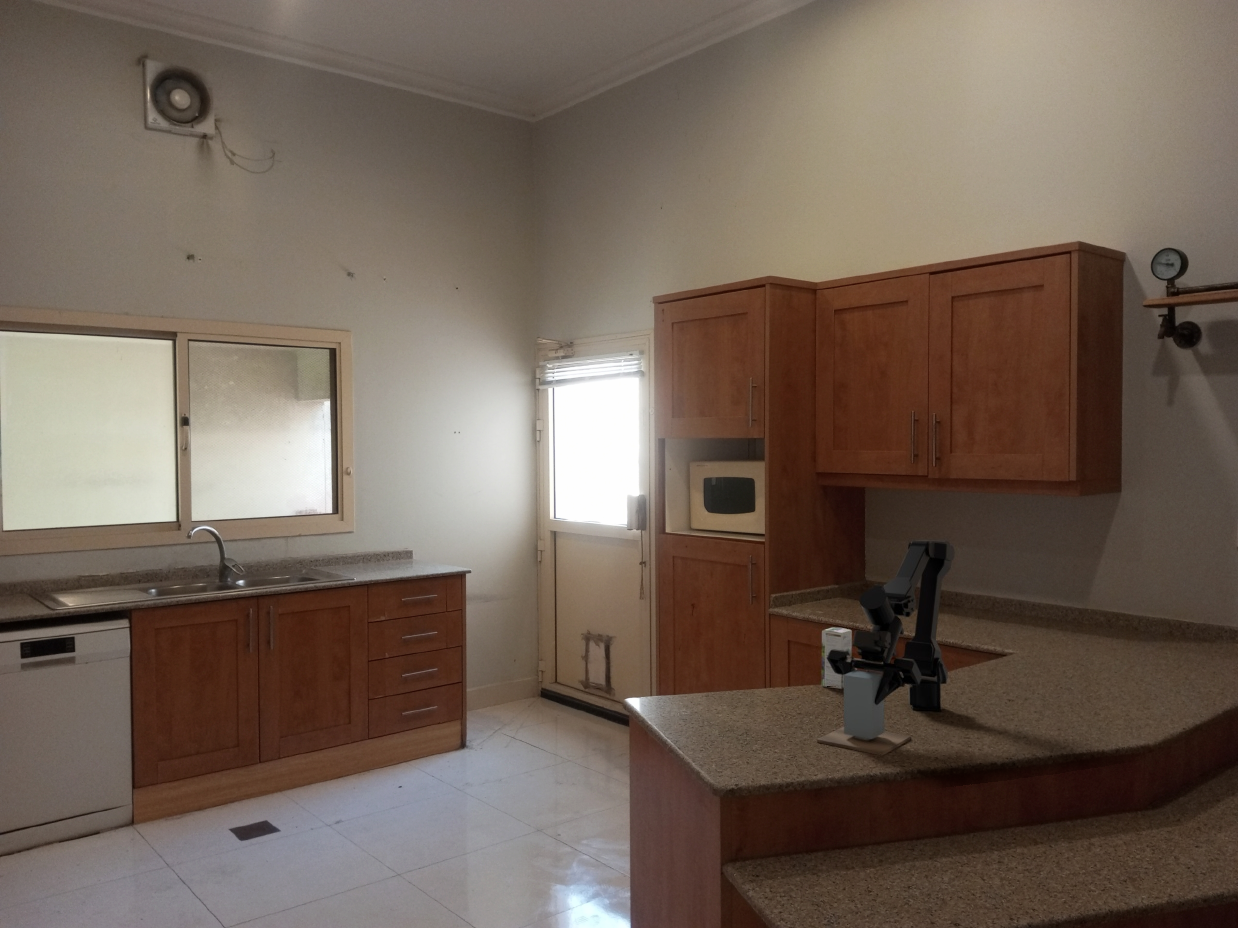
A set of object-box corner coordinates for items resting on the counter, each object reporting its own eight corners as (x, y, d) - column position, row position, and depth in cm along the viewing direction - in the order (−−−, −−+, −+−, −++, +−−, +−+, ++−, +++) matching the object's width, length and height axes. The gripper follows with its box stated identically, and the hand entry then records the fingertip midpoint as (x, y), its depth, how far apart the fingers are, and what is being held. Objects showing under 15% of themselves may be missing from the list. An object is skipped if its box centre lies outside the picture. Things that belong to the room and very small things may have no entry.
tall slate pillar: (857, 727, 193) (856, 669, 193) (884, 732, 189) (883, 673, 189) (844, 733, 188) (843, 674, 188) (871, 739, 184) (871, 678, 184)
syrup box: (831, 682, 241) (830, 626, 241) (852, 685, 237) (852, 628, 237) (821, 686, 236) (820, 629, 236) (842, 689, 232) (842, 631, 233)
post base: (847, 727, 198) (847, 703, 198) (911, 738, 189) (910, 714, 190) (816, 742, 188) (816, 716, 188) (882, 755, 179) (882, 728, 179)
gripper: (830, 611, 198) (805, 671, 189) (915, 619, 186) (893, 684, 177) (847, 642, 204) (824, 702, 195) (930, 652, 192) (909, 717, 183)
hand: (861, 701), depth 188 cm, fingers closed on tall slate pillar, 6 cm apart
